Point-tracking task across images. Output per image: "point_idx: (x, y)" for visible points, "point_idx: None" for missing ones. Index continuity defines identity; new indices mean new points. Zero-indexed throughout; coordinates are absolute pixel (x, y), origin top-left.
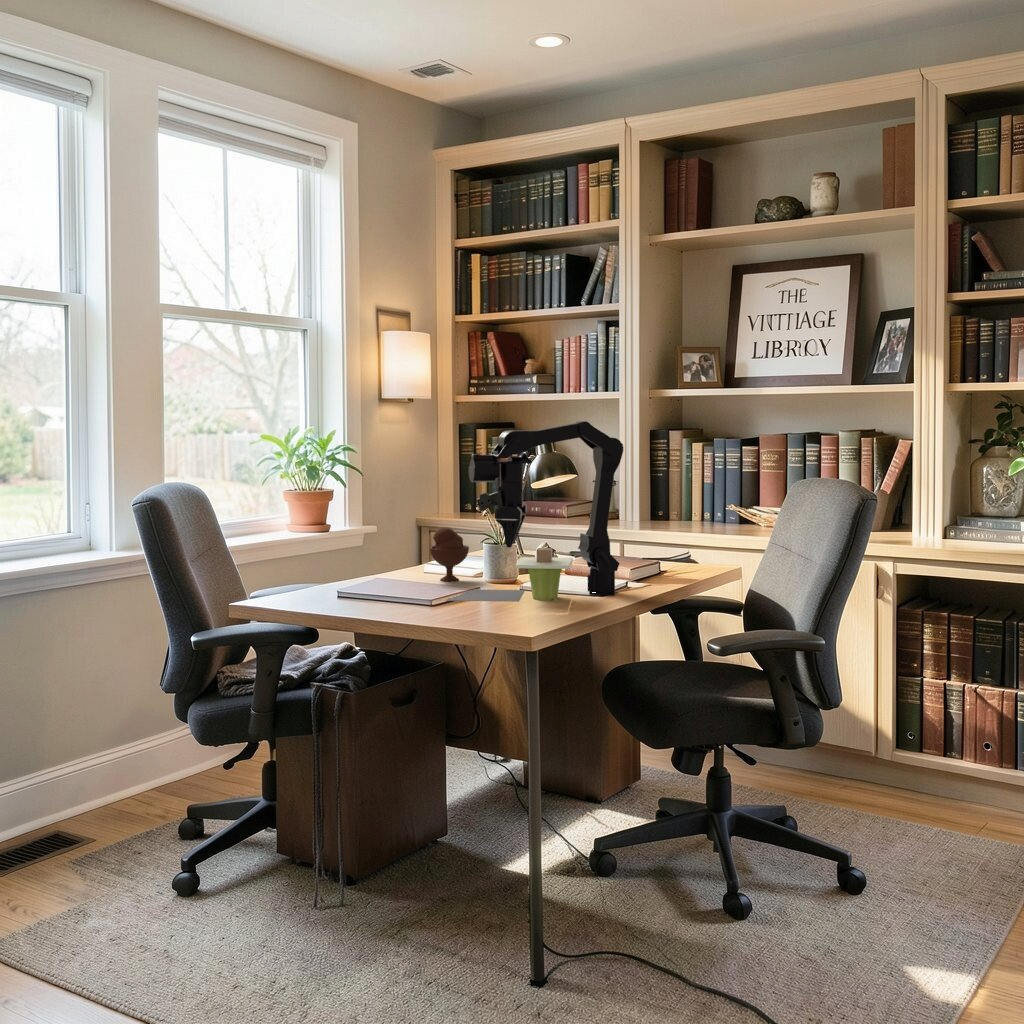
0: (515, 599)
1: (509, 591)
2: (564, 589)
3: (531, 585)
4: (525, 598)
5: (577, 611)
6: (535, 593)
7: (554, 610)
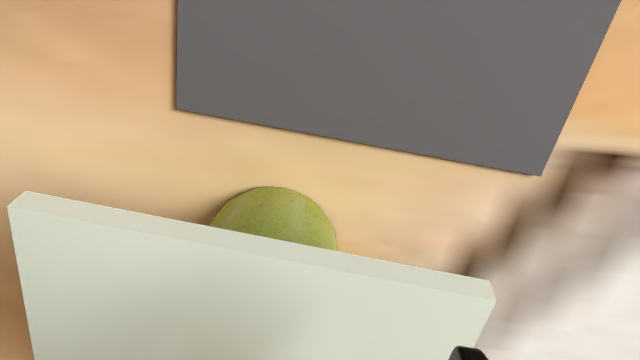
0: (233, 96)
1: (516, 84)
2: (527, 341)
3: (237, 221)
4: (305, 152)
5: (5, 308)
6: (221, 213)
7: (4, 237)
